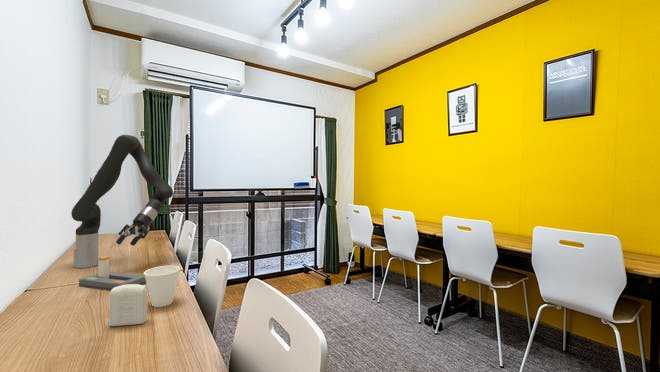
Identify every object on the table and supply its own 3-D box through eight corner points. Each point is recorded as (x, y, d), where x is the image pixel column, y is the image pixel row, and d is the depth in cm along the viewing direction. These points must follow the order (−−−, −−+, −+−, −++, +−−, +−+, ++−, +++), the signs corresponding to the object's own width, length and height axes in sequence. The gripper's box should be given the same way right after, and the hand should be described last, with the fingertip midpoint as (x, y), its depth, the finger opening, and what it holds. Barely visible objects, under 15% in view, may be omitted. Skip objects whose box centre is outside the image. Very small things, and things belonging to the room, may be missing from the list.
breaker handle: (98, 280, 128) (98, 257, 128) (104, 278, 130) (103, 256, 130) (103, 281, 127) (103, 258, 127) (109, 279, 130) (109, 256, 129)
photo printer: (149, 318, 96) (149, 281, 96) (144, 324, 92) (144, 285, 92) (114, 321, 94) (113, 283, 94) (107, 328, 90) (106, 288, 90)
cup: (160, 312, 101) (160, 276, 100) (135, 307, 104) (135, 273, 104) (187, 299, 112) (187, 267, 112) (164, 295, 116) (164, 264, 115)
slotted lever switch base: (79, 286, 125) (79, 278, 124) (106, 277, 136) (106, 270, 136) (123, 292, 118) (123, 284, 118) (148, 282, 130) (148, 275, 130)
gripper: (130, 212, 149) (107, 238, 138) (152, 213, 145) (131, 240, 134) (139, 221, 154) (118, 247, 143) (161, 222, 150) (141, 249, 139)
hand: (124, 244), depth 139 cm, fingers open, 8 cm apart
